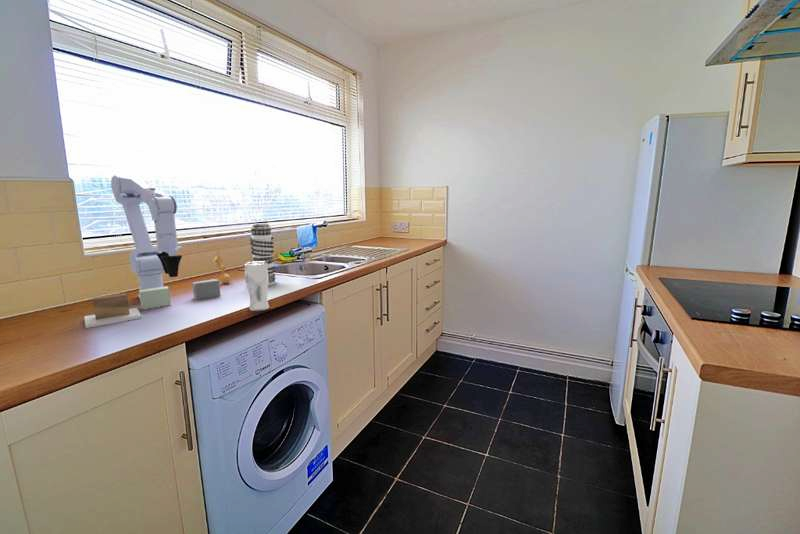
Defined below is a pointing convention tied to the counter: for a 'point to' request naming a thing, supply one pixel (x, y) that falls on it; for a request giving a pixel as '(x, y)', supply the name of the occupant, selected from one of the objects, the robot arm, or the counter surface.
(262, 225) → the decorative candle
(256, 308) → the beer glass
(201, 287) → the grey brick
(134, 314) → the white mat
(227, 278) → the figurine
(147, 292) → the sage brick
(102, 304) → the walnut brick
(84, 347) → the counter surface
